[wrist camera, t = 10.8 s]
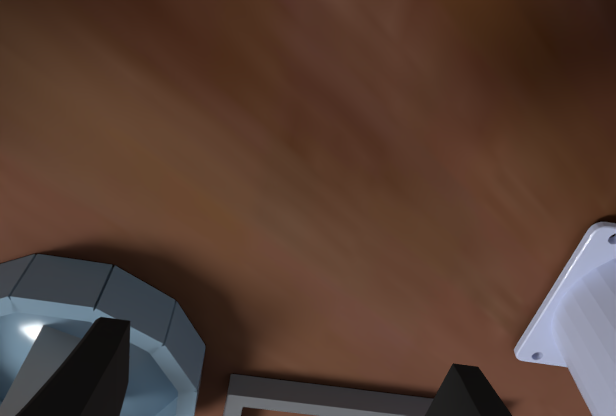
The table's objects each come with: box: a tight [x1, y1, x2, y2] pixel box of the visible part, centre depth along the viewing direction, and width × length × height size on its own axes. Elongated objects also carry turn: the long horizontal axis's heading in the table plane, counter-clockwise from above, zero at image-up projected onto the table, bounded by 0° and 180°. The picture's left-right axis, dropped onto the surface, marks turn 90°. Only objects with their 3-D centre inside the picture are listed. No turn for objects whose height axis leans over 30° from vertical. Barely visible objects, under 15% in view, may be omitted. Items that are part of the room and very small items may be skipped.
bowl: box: [0, 254, 206, 416], centre depth 24 cm, size 12×12×2 cm
